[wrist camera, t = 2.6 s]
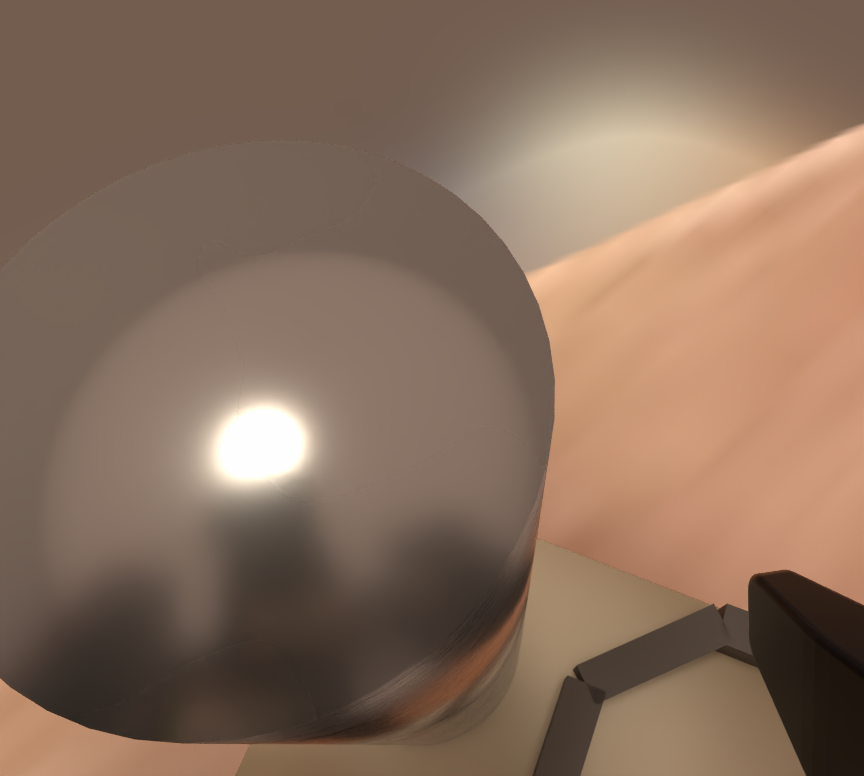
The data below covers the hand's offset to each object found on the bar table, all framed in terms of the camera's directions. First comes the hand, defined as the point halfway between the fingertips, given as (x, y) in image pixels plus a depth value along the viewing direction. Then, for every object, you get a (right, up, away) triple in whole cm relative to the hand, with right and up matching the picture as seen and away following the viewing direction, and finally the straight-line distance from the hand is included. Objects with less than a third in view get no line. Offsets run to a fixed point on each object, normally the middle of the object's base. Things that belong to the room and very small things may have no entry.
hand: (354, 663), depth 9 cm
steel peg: (+1, -2, +8) cm, 9 cm away
